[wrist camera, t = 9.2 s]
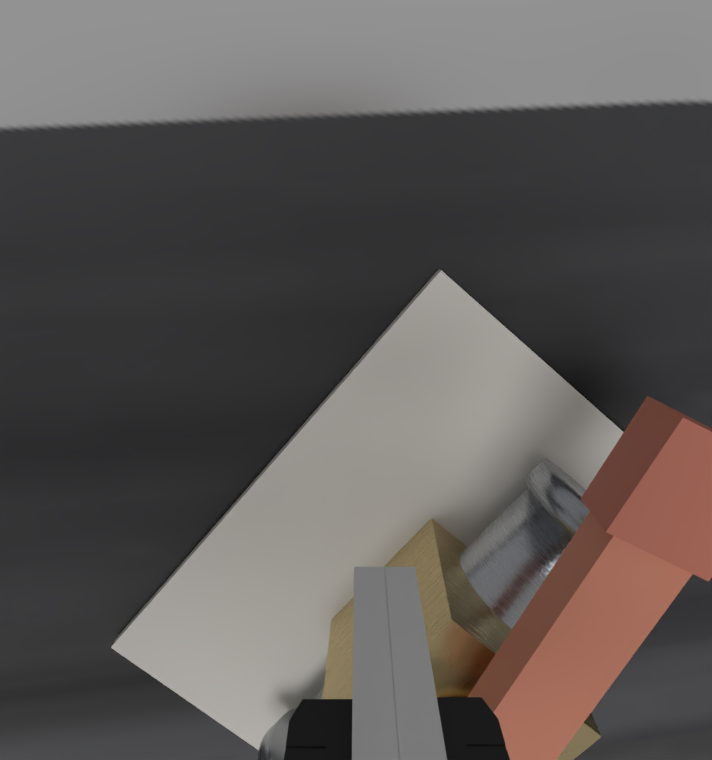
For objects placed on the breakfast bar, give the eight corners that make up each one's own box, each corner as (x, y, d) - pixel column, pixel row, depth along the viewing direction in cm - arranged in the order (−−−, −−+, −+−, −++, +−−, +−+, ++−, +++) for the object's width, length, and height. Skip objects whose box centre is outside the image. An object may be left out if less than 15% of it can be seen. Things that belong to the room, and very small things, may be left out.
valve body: (260, 691, 32) (219, 854, 24) (517, 430, 28) (578, 516, 20) (369, 768, 34) (367, 951, 25) (631, 529, 29) (737, 650, 21)
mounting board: (118, 635, 33) (110, 647, 32) (439, 268, 27) (441, 270, 26) (383, 820, 36) (383, 837, 35) (724, 522, 30) (735, 531, 29)
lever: (631, 387, 18) (665, 408, 16) (758, 452, 19) (808, 480, 17) (376, 784, 23) (377, 842, 20) (485, 830, 23) (496, 892, 21)
